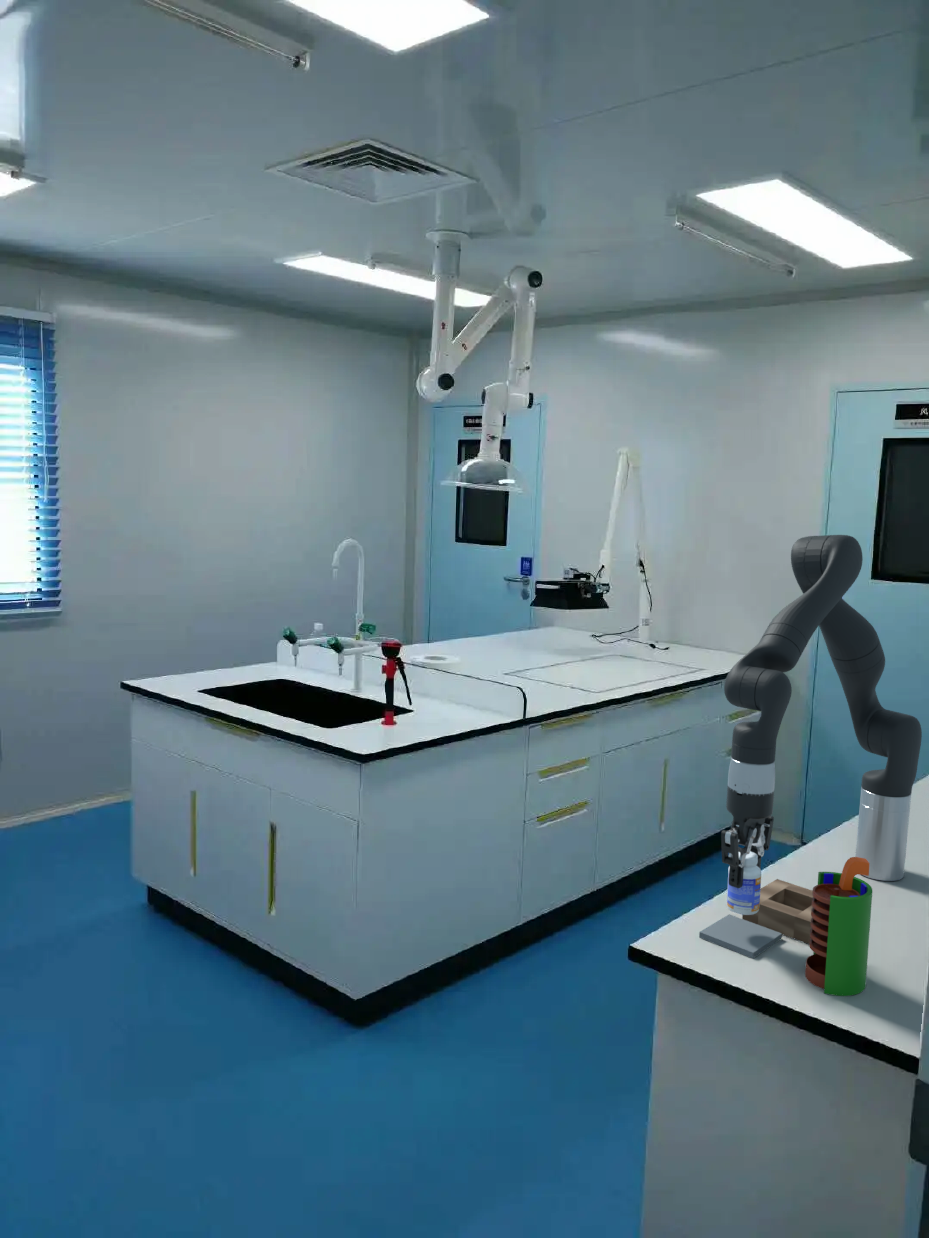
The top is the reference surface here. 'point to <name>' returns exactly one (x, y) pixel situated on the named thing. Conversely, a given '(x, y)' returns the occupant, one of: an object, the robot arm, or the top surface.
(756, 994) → the top surface
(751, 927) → the mat
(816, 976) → the green brown cylinder
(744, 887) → the pill bottle
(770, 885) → the socket block
